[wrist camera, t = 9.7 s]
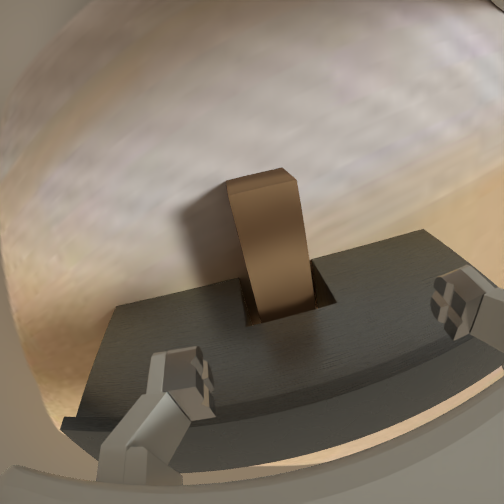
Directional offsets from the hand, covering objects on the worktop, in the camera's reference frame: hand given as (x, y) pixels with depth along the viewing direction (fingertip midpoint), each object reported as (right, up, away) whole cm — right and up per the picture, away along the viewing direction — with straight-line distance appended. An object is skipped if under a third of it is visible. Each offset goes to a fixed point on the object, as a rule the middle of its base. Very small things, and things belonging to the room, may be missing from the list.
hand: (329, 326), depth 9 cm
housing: (0, -1, +16) cm, 16 cm away
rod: (0, -1, +16) cm, 16 cm away
